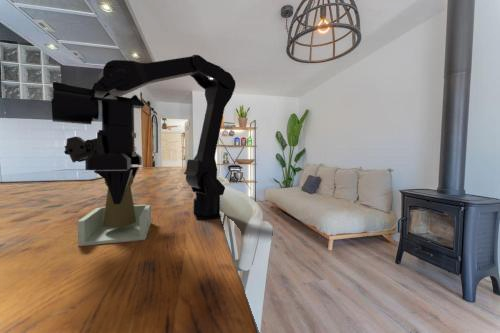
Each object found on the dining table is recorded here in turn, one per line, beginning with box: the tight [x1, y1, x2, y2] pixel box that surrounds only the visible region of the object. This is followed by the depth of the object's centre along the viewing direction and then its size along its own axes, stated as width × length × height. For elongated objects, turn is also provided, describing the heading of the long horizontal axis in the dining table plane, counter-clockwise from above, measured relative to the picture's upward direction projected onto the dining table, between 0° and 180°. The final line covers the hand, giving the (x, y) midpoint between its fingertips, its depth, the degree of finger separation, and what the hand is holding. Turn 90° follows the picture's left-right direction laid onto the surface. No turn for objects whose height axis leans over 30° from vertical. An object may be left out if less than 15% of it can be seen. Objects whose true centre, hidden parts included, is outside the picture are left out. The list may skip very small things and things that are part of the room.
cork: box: [103, 174, 136, 227], centre depth 46 cm, size 6×6×11 cm
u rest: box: [77, 203, 152, 247], centre depth 46 cm, size 11×11×5 cm
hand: (120, 201), depth 46 cm, fingers closed on cork, 4 cm apart
